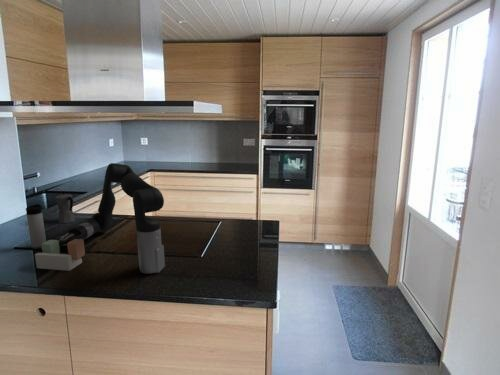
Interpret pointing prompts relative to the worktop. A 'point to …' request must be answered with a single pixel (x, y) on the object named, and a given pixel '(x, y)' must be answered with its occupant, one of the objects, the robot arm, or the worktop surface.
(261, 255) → the worktop surface
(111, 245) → the worktop surface
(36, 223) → the travel mug
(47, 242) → the green rectangular block
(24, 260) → the worktop surface
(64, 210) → the coffeepot
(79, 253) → the terracotta rectangular block
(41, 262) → the console
